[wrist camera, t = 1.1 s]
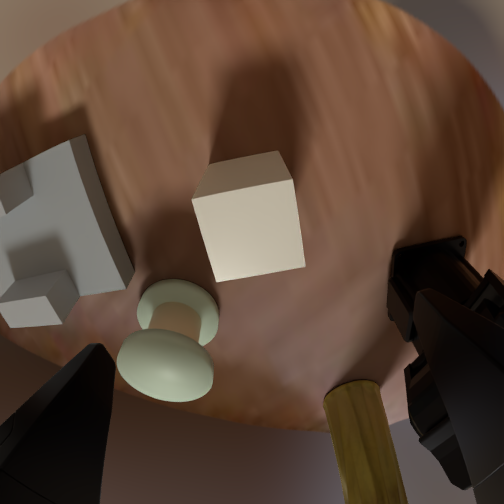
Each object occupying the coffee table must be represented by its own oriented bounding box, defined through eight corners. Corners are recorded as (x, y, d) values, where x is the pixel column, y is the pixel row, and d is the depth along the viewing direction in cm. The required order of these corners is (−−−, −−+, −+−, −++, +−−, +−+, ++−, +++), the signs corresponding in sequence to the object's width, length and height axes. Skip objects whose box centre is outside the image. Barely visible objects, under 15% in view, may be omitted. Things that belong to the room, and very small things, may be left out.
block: (278, 150, 17) (292, 179, 12) (289, 214, 19) (305, 266, 14) (208, 164, 17) (191, 199, 12) (224, 226, 19) (216, 282, 14)
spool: (206, 272, 21) (194, 335, 15) (228, 335, 24) (224, 398, 18) (128, 285, 21) (99, 344, 16) (157, 343, 24) (142, 402, 19)
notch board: (85, 134, 16) (38, 152, 11) (135, 272, 21) (111, 318, 16) (-33, 196, 17) (-71, 222, 13) (13, 294, 22) (-15, 329, 17)
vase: (314, 393, 28) (336, 527, 15) (373, 370, 27) (414, 503, 14) (331, 417, 31) (352, 530, 18) (383, 397, 29) (415, 510, 17)
